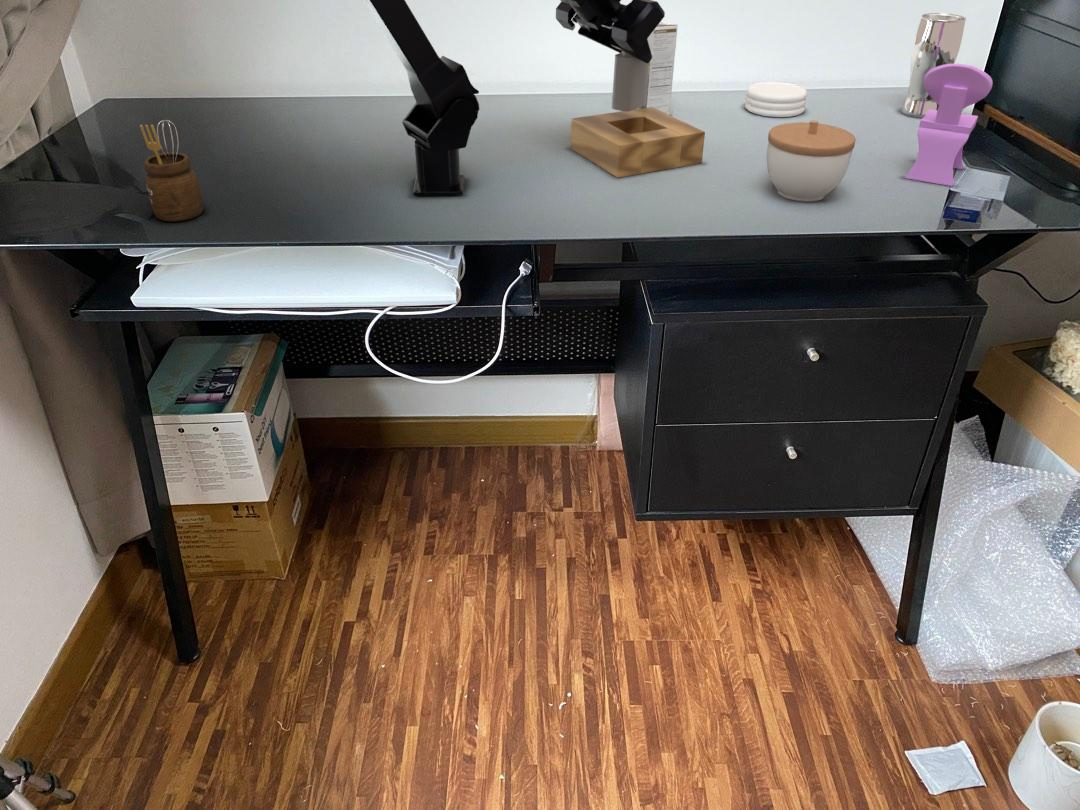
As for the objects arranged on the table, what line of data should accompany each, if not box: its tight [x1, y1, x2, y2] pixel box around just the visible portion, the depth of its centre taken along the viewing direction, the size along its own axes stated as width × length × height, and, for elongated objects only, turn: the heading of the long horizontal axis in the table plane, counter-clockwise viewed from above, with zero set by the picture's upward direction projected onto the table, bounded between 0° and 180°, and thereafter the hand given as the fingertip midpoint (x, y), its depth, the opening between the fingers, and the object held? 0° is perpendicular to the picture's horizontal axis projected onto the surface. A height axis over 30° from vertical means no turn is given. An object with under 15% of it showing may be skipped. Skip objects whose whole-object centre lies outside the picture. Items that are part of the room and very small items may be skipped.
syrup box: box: [637, 19, 679, 115], centre depth 139 cm, size 6×6×14 cm
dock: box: [570, 107, 706, 179], centre depth 124 cm, size 14×14×4 cm
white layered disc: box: [744, 81, 808, 118], centre depth 144 cm, size 10×10×4 cm
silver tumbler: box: [900, 12, 967, 119], centre depth 140 cm, size 7×7×15 cm
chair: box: [904, 63, 994, 187], centre depth 115 cm, size 8×9×15 cm
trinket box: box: [766, 119, 857, 202], centre depth 110 cm, size 11×11×9 cm
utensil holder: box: [139, 119, 204, 223], centre depth 103 cm, size 6×6×12 cm
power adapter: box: [611, 51, 649, 112], centre depth 120 cm, size 3×5×12 cm, turn 144°
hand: (639, 57), depth 120 cm, fingers closed on power adapter, 4 cm apart
